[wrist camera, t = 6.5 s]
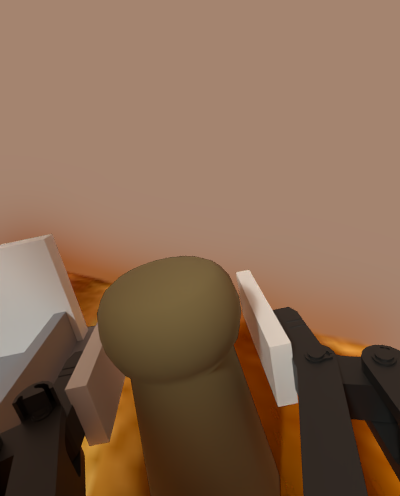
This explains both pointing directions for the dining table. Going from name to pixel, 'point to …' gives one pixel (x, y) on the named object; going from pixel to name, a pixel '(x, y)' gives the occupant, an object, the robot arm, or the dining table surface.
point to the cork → (187, 379)
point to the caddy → (35, 319)
